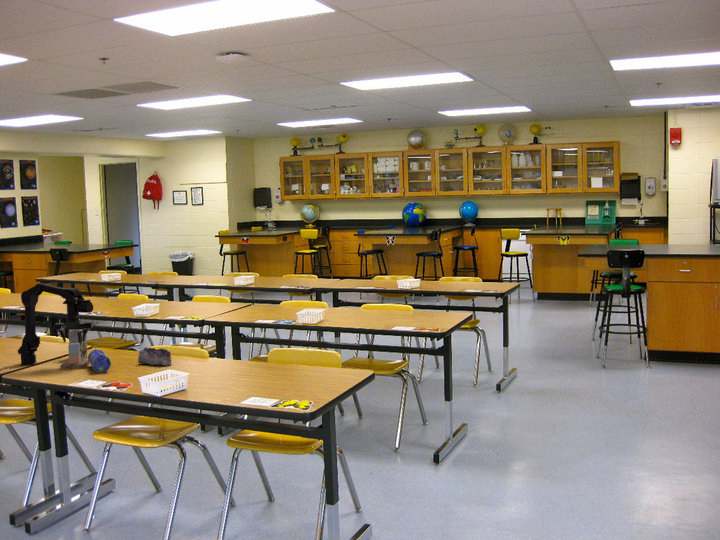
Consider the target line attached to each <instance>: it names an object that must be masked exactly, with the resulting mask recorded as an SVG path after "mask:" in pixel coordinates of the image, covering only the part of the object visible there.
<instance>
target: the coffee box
mask: <svg viewBox="0 0 720 540" xmlns="http://www.w3.org/2000/svg"><path fill="white" fill-rule="evenodd" d="M83 329H84V328H83ZM83 329H81V328H80V329H73V330H71V331H68V345H69V344H70V343H80V352H81V360H86V359H88V341H87V340H88V339H87V336H88V335H86V337H85V341H84V342H83Z"/></svg>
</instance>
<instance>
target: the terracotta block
mask: <svg viewBox="0 0 720 540" xmlns="http://www.w3.org/2000/svg"><path fill="white" fill-rule="evenodd" d="M68 361H69V364H77V363H80V362H81V352H80V353H79V354H74V355H69V353H68Z"/></svg>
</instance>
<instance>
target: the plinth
mask: <svg viewBox="0 0 720 540" xmlns="http://www.w3.org/2000/svg"><path fill="white" fill-rule="evenodd" d="M89 365H90V362H89V360H88V359H83V360H81V362H80V363H77V364H69V360H65V361H63V363H61V365H60V366H59V367H60V368H59V369H60V370H76V369H78V370H79V369H86V368H87V367H88V366H89Z"/></svg>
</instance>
